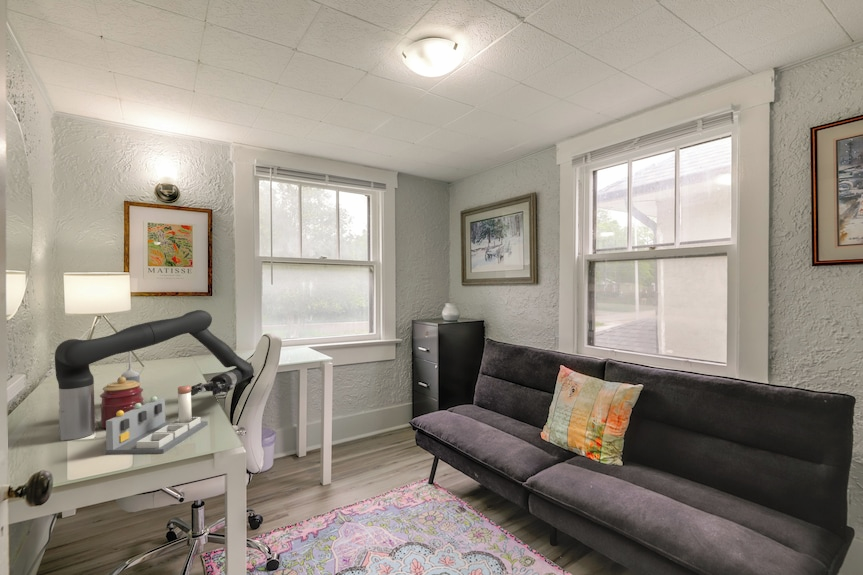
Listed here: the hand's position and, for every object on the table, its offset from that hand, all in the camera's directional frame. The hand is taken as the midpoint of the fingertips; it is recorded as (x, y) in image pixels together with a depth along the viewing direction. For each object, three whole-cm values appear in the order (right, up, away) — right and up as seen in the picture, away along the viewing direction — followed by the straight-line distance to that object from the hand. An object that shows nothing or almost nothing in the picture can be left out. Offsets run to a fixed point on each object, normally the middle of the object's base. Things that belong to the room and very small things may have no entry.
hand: (202, 392), depth 158 cm
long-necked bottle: (-43, -10, +21) cm, 49 cm away
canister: (-27, -11, -4) cm, 30 cm away
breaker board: (-3, -10, -19) cm, 22 cm away
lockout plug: (0, -9, -11) cm, 14 cm away
